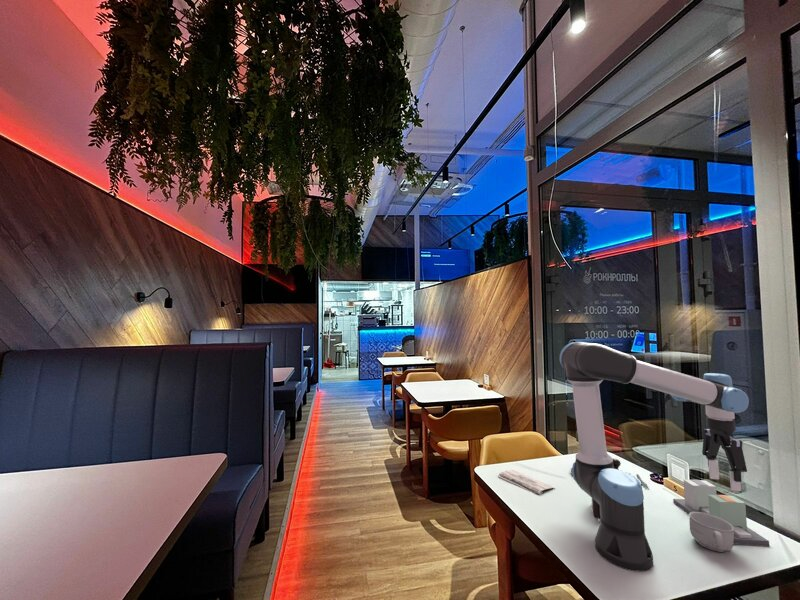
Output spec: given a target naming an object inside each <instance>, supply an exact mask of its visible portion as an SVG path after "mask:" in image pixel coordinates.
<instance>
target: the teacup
mask: <svg viewBox="0 0 800 600" xmlns="http://www.w3.org/2000/svg"><path fill="white" fill-rule="evenodd" d="M688 516H689V531H690V534H691V536H692V538H694V539H695V540H696V541H697V543H698V544H699V545H701V546H702V547H704V548H706V549H709V550H711V551H713V552H714V551H715V552H718V553H719V552H720V553H723V552H727V551H730V550H732V549H733V548H734V547H733V546H734V544H733V541H734V527H733V526H732V525H731V524H730V523H728V522H727V521H725V520H723V519H721V518H718V517H716V516H713V515H710V514H707V513H702V512H691V513H689V514H688Z"/></svg>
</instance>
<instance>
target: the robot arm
mask: <svg viewBox="0 0 800 600" xmlns="http://www.w3.org/2000/svg"><path fill="white" fill-rule="evenodd" d="M559 362H560V363H559V364H560V365H561V367H562V368H563V369H564V370H565V375H566V381H567V382H569V384H571V386H572V387H571V388H572V395H573V403H574V412H575V421H576V423H575V424H576V430H577V440H578V449H579V451H578V452H577V453H576V454H575V461H574V462H573V463H572V467H571V468H572V471H571V473H572V477H573V479H574V481H575V483H576V484H577V485H578V487H579V488H580V489H581V490H582V491H583V492H584V493H585V494H587V495H588V496H589V497H590V498H591V499H592V498H593V499H594V500H595V501H596V502H597V503H598V504H599V505H600V519H599V520H600V522H599V525H598V527H597V528H598V529H597V532H596V534H595V537H594V547H595V550H596V552H597V553H598V554H599V556H600V557H602V558H603V559H604V560H606V561H607V562H608V563H610V564H613V565H615V566H617V567H619V568H622V569H625V570H630V571H633V572H644V571H645V572H647V571H649V570H651V569H652V568H653V567H654V554H653V552H652V551H653V550H652V548H651V546H650V543H649V540H648V539H647V538H648V537H647V536H646V533H645V532H646V530H645V509H644V508H645V507H644V506H645V505H644V499H645V498H644V497H645V496H644V492H643V486H642V485H641V481H640V480H639V479H638V478H637V477H635V476H634V475H632V474H631V473H630V472H627V471H626V472H625V471H623V470H622V469H619V468H618V469H619V470H618V469H614V465H613V459H614V458H613V457H612V456H611V455H610V454H608V450H607V442H606V434H605V432H606V431H605V427H604V426H605V425H604V417H603V416H604V415H603V409H602V400H601V392H600V384H601V383H602V382H603V381H604V380H606V381H612V382H617V383H620V384H624V385H626V384H629V383H631V384H634V385H638V386H641V387H644V388H648V389H652V390H655V391H658V392H662V393H664V394H668V395H670V396H671V398H672V399H674V400H675V401H676V402H677V401H678V402H692V403H695V404H699V405H704V406H705V415H706V419H705V421H706V427H707V428H703V429H702V433H703V441H702V451H701V453H702V455H703V456H705V458H706V459H707V466H708V467H707V468H708V475H709V479H710V480H720V472H719V471H720V469H719V460H718V455H719V451H720V448H721V449H722V450H723V451H724V453H725V456H726V458H727V461H728V463H729V466H730V468H729V469H728V470H729V473H728V474H729V483H730V485H729V487H730V491H732V492H742V473H747V472H748V469H747V465H746V459H745V455H744V450H743V441H742V440H740V439H736V438H735V436H734V432H736V431H737V430H736V421H735V418H736V417H735V413H736V414H737V413H739V414H740V413H742V412H744V411H746V410H747V409H748V407H749V405H750V404H749V403H750V399H749V398H750V397H749V396H748V394H747V393H746V392H745V391H744V390H742V389H740V388H736V387H734V385H733V380H732V377H731V376H730V375H728V374H725V373H715V372H714V373H713V372H709V373H708V372H707V373H704V374H703V378H700V377H696V376H693V375H689V374H685V373H681V372H679V371H676V370H675V371H674V370H671V369H670V368H669V369H668V368H665V367H662V366H658V365H655V364H651V363H649V362H645V361H641V360H638V359H637V358H636V357H635V356H634V355H632V354H629V353H625V352H622V351H620V350H616V349H614V348H612V347H609V346H607V345H603V344H601V343H593V342H584V341H575V342H574V341H573V342H571V343H568V344H566V345H565V346H564V347H563V348H562V349H561V351H560V353H559ZM612 458H613V459H612ZM629 473H630V474H629Z"/></svg>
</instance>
